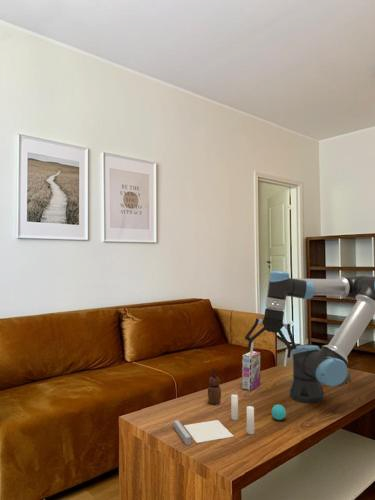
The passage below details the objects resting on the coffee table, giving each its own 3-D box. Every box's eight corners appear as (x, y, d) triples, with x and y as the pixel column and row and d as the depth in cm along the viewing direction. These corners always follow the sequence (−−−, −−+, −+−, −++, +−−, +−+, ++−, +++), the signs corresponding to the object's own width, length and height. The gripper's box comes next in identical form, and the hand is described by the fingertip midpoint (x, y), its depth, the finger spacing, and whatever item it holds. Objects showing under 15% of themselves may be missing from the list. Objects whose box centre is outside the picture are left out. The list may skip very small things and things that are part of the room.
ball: (280, 415, 149) (280, 401, 149) (288, 421, 144) (288, 406, 144) (268, 417, 147) (268, 403, 148) (276, 423, 142) (276, 408, 142)
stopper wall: (178, 426, 139) (177, 420, 139) (190, 444, 126) (190, 436, 126) (173, 427, 139) (173, 420, 139) (186, 445, 126) (186, 437, 126)
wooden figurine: (207, 399, 166) (207, 365, 167) (220, 399, 166) (220, 365, 166) (208, 405, 159) (207, 370, 160) (221, 405, 159) (221, 370, 160)
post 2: (251, 430, 136) (251, 405, 136) (255, 433, 134) (255, 408, 134) (245, 431, 135) (245, 406, 136) (249, 434, 133) (248, 409, 133)
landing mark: (217, 420, 145) (217, 419, 145) (233, 436, 132) (233, 436, 132) (183, 425, 140) (183, 425, 140) (196, 443, 127) (196, 442, 127)
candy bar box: (251, 391, 176) (251, 356, 177) (241, 389, 179) (241, 355, 180) (261, 384, 185) (260, 351, 186) (251, 383, 188) (251, 350, 189)
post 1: (236, 416, 148) (236, 393, 148) (239, 419, 146) (239, 396, 146) (230, 417, 147) (230, 394, 147) (233, 420, 145) (233, 397, 145)
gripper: (243, 304, 151) (235, 356, 149) (307, 315, 144) (300, 370, 142) (245, 303, 158) (237, 353, 156) (306, 314, 151) (299, 366, 150)
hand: (267, 362), depth 149 cm, fingers open, 13 cm apart
